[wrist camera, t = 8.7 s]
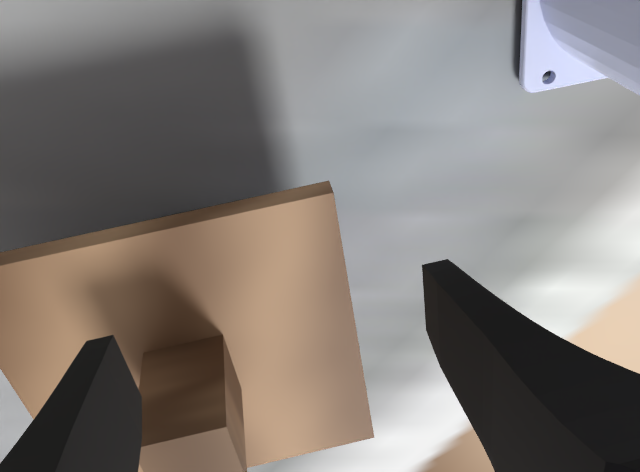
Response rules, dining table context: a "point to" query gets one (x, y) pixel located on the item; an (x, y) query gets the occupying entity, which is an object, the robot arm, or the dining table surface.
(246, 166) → the dining table surface
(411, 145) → the dining table surface
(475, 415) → the robot arm
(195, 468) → the lid
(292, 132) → the dining table surface
